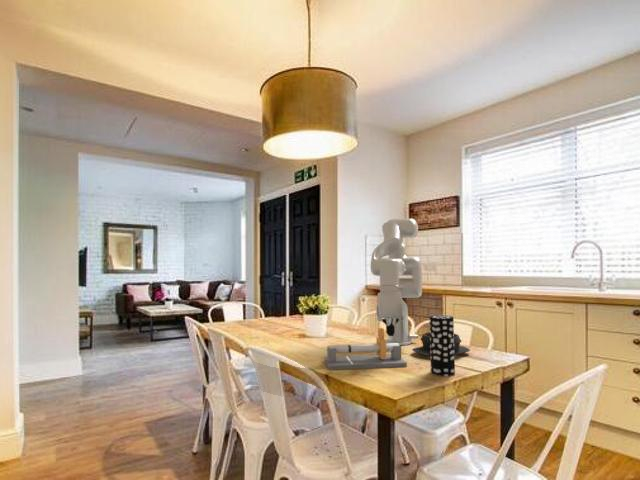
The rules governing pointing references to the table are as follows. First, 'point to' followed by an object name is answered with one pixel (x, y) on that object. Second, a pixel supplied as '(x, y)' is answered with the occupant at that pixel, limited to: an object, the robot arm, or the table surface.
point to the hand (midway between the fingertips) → (390, 335)
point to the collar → (381, 343)
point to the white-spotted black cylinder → (442, 345)
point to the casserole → (426, 345)
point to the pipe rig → (363, 357)
